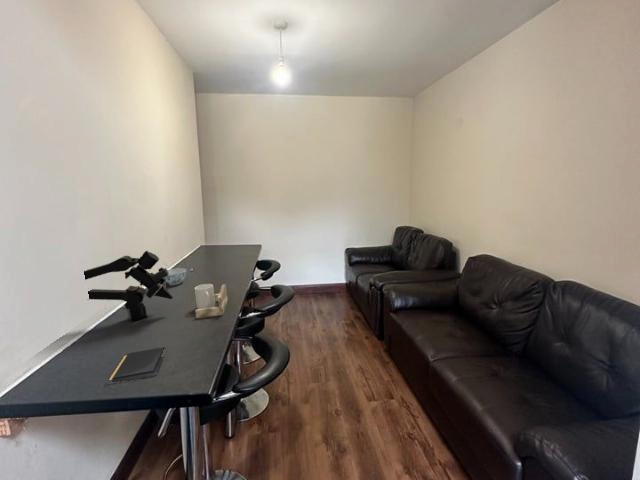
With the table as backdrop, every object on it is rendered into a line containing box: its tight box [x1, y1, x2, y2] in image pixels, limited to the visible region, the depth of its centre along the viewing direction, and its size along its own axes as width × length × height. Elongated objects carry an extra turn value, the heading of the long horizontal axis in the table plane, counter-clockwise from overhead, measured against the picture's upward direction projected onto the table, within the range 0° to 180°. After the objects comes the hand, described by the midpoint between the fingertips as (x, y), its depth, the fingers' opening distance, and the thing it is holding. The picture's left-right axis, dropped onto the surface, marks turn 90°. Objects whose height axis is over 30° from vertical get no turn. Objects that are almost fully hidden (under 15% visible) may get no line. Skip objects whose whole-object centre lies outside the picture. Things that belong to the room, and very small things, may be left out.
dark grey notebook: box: [108, 346, 167, 382], centre depth 112 cm, size 20×2×15 cm
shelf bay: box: [194, 283, 228, 319], centre depth 159 cm, size 12×21×8 cm, turn 10°
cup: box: [194, 283, 216, 309], centre depth 159 cm, size 8×12×10 cm
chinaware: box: [164, 267, 187, 286], centre depth 206 cm, size 15×15×8 cm
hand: (172, 298), depth 156 cm, fingers closed
